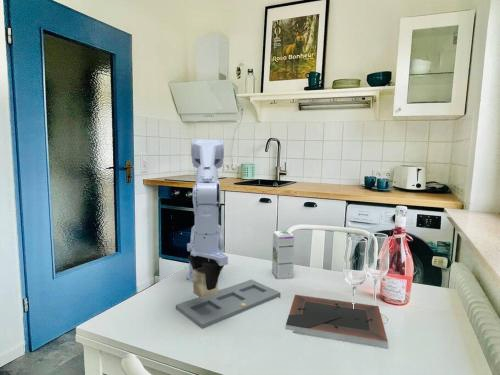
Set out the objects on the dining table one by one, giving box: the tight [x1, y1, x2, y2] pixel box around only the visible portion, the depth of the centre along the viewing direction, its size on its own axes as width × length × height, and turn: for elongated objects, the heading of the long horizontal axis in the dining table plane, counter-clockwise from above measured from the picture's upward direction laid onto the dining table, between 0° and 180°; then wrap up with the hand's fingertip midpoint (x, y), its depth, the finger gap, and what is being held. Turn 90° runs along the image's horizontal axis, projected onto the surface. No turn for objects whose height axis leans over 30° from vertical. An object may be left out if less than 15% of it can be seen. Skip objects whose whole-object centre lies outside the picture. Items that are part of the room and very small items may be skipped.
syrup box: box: [271, 230, 295, 280], centre depth 106 cm, size 6×6×14 cm
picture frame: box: [285, 294, 389, 349], centre depth 79 cm, size 16×2×22 cm
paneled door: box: [175, 279, 282, 330], centre depth 86 cm, size 12×26×2 cm, turn 132°
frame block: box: [192, 267, 219, 299], centre depth 80 cm, size 4×4×6 cm
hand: (205, 285), depth 80 cm, fingers closed on frame block, 4 cm apart
